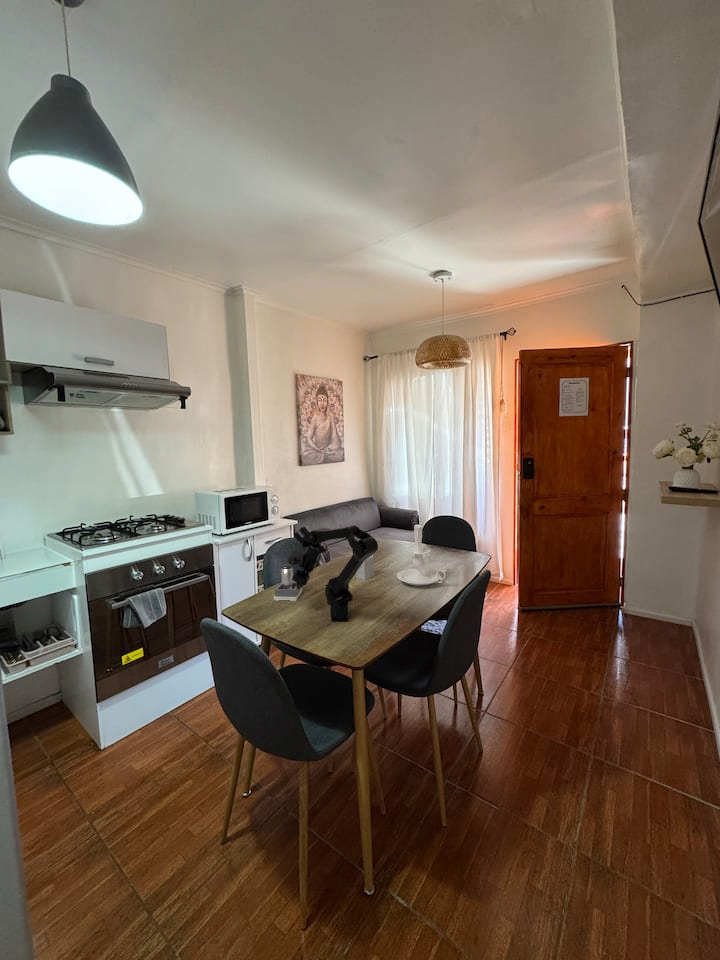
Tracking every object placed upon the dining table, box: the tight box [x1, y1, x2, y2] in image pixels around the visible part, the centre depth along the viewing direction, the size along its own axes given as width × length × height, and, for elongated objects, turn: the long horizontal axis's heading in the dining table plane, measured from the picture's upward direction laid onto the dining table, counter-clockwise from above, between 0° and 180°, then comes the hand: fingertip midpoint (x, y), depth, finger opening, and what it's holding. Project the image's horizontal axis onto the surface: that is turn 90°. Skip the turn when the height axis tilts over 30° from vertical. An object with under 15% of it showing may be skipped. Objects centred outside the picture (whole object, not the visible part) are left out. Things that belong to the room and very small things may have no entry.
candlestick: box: [396, 524, 448, 587], centre depth 188 cm, size 21×25×28 cm
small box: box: [355, 554, 375, 581], centre depth 199 cm, size 8×6×10 cm
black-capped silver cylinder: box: [280, 563, 294, 589], centre depth 178 cm, size 5×5×12 cm
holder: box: [273, 581, 303, 602], centre depth 179 cm, size 10×10×4 cm
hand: (301, 581), depth 171 cm, fingers open, 9 cm apart
